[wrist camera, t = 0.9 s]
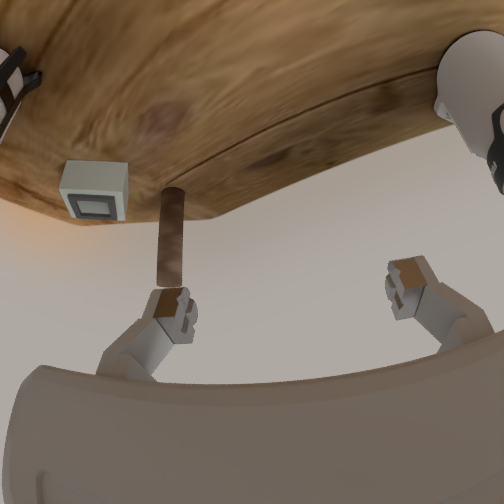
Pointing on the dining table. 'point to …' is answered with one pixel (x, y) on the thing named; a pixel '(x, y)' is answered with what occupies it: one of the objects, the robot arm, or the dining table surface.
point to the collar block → (95, 189)
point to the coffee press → (13, 86)
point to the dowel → (170, 238)
